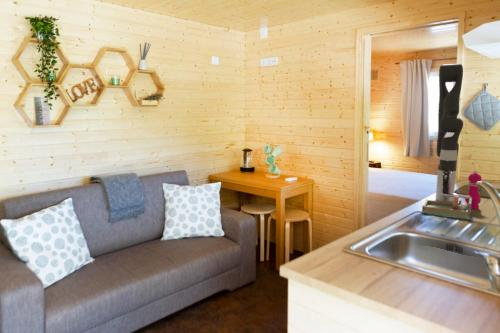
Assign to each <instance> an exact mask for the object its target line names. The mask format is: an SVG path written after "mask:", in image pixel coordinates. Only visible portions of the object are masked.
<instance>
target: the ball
mask: <svg viewBox="0 0 500 333" xmlns="http://www.w3.org/2000/svg"><path fill="white" fill-rule="evenodd" d="M466 204H467V203H462V202H461V204H460V210H461V211H466V210H467V209H468V206H467V205H466Z"/></svg>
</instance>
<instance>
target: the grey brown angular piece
mask: <svg viewBox="0 0 500 333" xmlns="http://www.w3.org/2000/svg"><path fill="white" fill-rule="evenodd" d="M444 183H447V182H444ZM449 184H450V182H449ZM441 195H442V196H449V197H454V200H453V201H452V203H453V210H457V209H458V203H459V200H460V199H465V198H468V199H470V195H467V194H460V193H459V194H458V193H454V194H451V193H449V186H448V193H447V194H443V188H442V194H441ZM459 198H460V199H459Z"/></svg>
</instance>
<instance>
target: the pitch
mask: <svg viewBox="0 0 500 333" xmlns="http://www.w3.org/2000/svg"><path fill="white" fill-rule="evenodd" d="M471 202H472V197H470V199H469V204H467V203H465V204H466V205H467V206H468V209H467V210H466V211H461V210H460V204H462V200H461V199H459V200H458V209H457V210H453V202H444V201H438V200H431V199H426V200H425V201H424V203H423V205H422V207H421V208H422V209H421V213H422V214H424V213H428V214H427V215H432V214H434V216H440V215H441V216H442V217H448V216H449V217H450V218H456V217H459V218H458V219H464V218H467V219H466V220H470V219H471V211H472V209H471Z"/></svg>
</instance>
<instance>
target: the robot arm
mask: <svg viewBox="0 0 500 333" xmlns="http://www.w3.org/2000/svg"><path fill="white" fill-rule="evenodd" d="M463 76H464V66H463V65H462V63H446V64H445V63H444V64H441V65H440V67H439V70H438V88H439V90H438V92H439V94H438V96H439V98H438V100H439V101H438V112H437V117H438V118H437V119H438V120H437V121H438V123H437V124H438V126H437V127H438V129H437V142H436V149H435V150H436V156H437V157H438V158H439V164H438V166H437V175H436V176H437V179H436V189H435V190H436V192H435V201H442V202H451V203H453V200H454V197H449V196H442V195H441V194H442V188H443V194H447V193H448V186H449V193H451V194H455V192H456V191H455V188H456V177H457V163H458V158H459V157H458V156H459V151H460V150H459V149H460V148H459V147H460V146H459V137H460V135H461V132H462V131H463V128H464V121H463V120H462V119H461V118H459V117H458V115H459V114H460V97H461V92H462V91H461V90H462V86H463V79H464V78H463ZM446 83H454V85H453V86H452V88H451V90H448V88H447V84H446ZM447 133H452V134H453V135H450V136H446V135H447ZM445 136H446V137H445ZM444 182H447V183H444ZM449 182H450V184H449Z"/></svg>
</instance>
